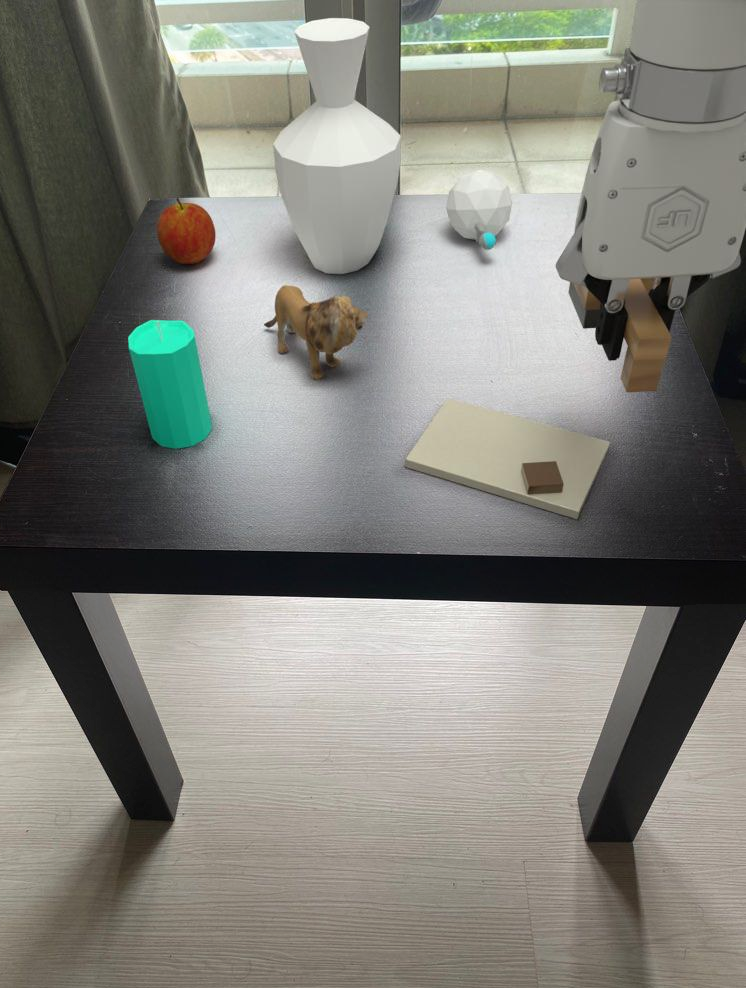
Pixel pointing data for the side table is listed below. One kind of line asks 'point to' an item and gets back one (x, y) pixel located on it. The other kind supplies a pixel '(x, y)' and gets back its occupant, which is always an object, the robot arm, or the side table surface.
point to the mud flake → (542, 477)
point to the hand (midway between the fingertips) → (628, 347)
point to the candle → (170, 382)
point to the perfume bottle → (479, 206)
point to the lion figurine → (316, 324)
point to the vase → (337, 154)
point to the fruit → (186, 232)
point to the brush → (632, 332)
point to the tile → (507, 455)
